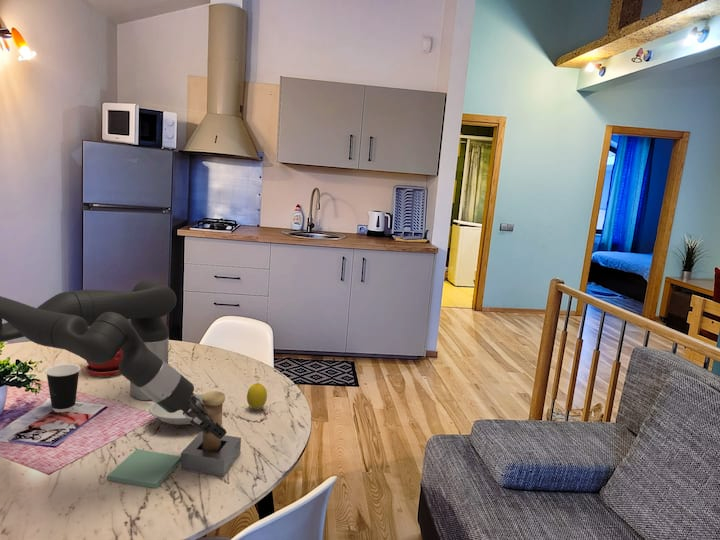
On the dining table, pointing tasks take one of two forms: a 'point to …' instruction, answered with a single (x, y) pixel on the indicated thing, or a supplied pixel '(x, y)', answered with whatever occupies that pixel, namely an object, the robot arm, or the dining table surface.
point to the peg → (214, 407)
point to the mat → (144, 468)
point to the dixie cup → (63, 386)
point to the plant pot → (106, 366)
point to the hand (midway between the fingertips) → (220, 430)
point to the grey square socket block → (210, 456)
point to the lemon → (256, 396)
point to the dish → (170, 414)
